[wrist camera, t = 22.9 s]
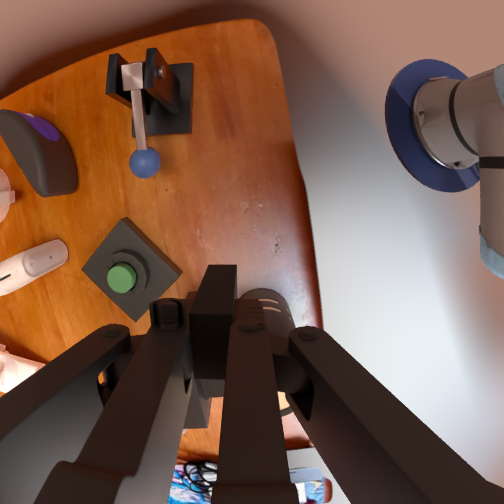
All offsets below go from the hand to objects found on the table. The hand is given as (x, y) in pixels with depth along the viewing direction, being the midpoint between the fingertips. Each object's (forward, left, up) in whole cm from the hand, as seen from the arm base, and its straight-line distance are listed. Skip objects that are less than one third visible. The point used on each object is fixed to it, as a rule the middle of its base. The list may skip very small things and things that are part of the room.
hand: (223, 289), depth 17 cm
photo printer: (+18, +25, -27) cm, 41 cm away
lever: (+16, -2, -18) cm, 24 cm away
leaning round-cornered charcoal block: (+28, +12, -27) cm, 40 cm away
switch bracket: (+19, -5, -26) cm, 33 cm away
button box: (+6, +15, -26) cm, 31 cm away
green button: (+6, +15, -23) cm, 28 cm away
